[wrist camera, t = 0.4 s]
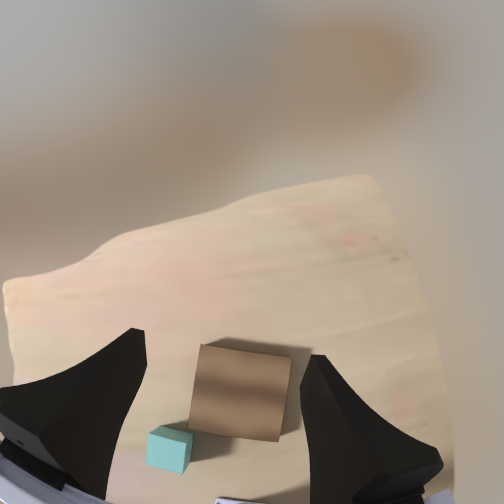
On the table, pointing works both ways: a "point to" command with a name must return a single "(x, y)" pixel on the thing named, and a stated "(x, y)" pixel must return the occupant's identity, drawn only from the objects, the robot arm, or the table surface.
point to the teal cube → (169, 449)
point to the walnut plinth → (239, 393)
